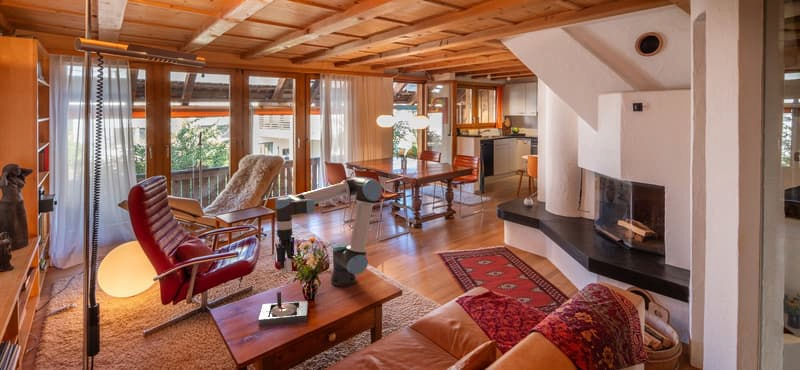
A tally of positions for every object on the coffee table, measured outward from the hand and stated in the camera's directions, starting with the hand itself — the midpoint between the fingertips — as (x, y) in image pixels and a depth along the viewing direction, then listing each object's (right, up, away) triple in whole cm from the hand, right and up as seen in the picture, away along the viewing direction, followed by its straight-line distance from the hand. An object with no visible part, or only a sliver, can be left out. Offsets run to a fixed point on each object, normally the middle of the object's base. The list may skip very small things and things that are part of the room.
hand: (286, 272), depth 212 cm
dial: (+1, -18, -8) cm, 20 cm away
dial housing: (+1, -20, -7) cm, 22 cm away
